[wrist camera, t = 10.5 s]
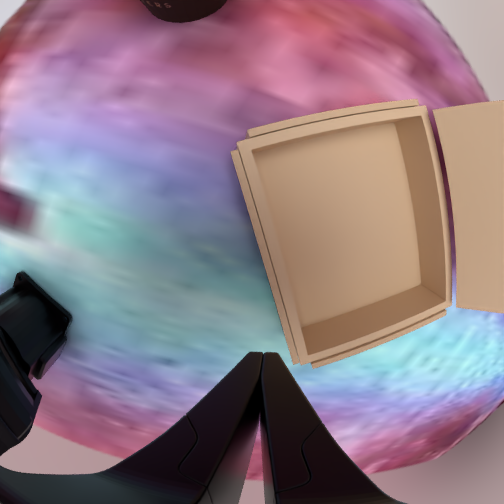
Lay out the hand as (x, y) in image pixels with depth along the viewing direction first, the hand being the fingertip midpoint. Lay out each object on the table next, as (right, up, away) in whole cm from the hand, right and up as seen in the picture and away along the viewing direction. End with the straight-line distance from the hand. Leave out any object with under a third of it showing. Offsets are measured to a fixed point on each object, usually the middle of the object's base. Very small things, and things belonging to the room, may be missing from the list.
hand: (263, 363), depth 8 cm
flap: (+12, +6, +7) cm, 15 cm away
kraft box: (+6, +5, +12) cm, 14 cm away
